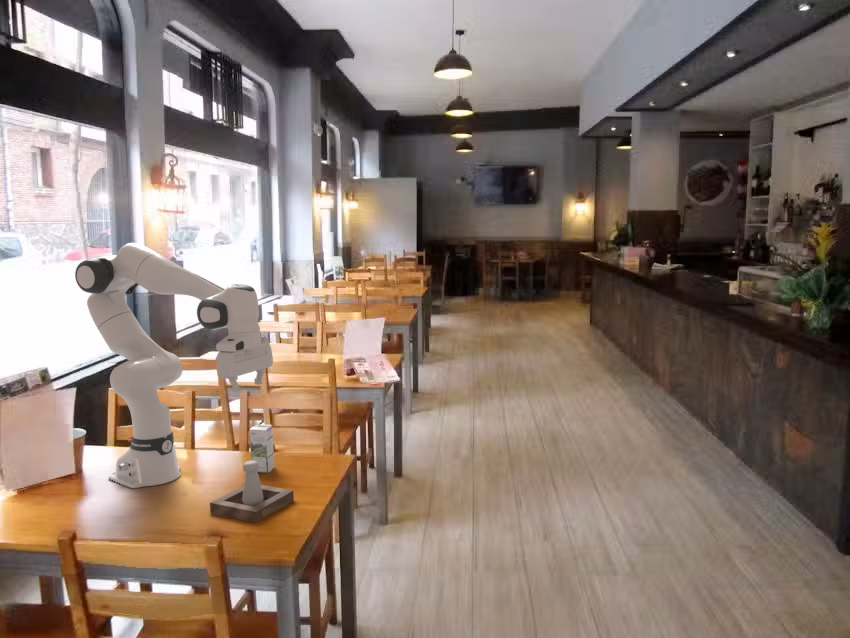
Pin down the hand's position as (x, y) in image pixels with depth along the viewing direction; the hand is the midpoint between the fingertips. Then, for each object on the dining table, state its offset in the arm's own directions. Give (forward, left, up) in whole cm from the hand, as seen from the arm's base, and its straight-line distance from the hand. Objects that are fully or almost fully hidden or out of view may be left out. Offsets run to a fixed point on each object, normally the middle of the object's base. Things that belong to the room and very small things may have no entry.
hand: (247, 387), depth 199 cm
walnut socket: (+8, -10, -31) cm, 34 cm away
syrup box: (-9, +15, -31) cm, 36 cm away
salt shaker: (+8, -10, -31) cm, 34 cm away
